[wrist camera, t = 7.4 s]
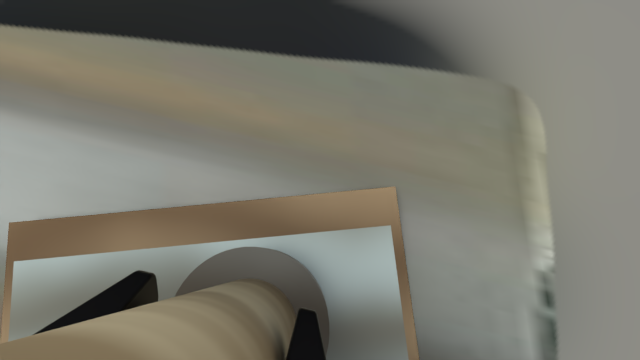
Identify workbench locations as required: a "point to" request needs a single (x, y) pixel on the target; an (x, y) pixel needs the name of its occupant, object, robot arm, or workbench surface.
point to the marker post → (197, 317)
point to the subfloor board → (213, 238)
